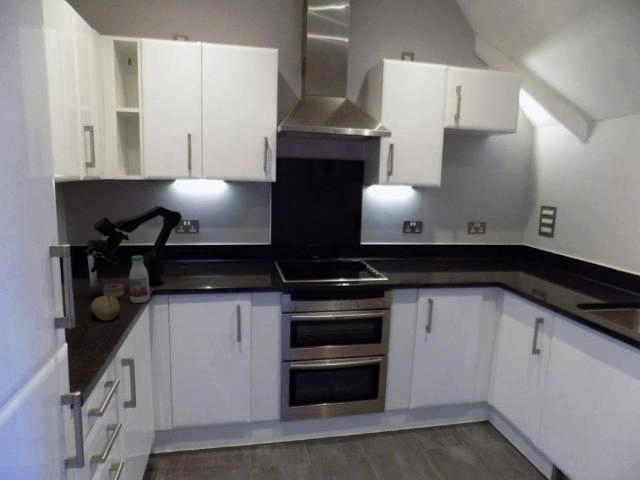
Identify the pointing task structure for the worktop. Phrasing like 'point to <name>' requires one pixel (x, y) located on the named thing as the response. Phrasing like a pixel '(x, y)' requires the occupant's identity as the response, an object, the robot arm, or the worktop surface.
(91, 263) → the steel peg
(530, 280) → the worktop surface
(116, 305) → the bread roll
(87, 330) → the worktop surface
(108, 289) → the tan tape roll
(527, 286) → the worktop surface
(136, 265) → the milk bottle
